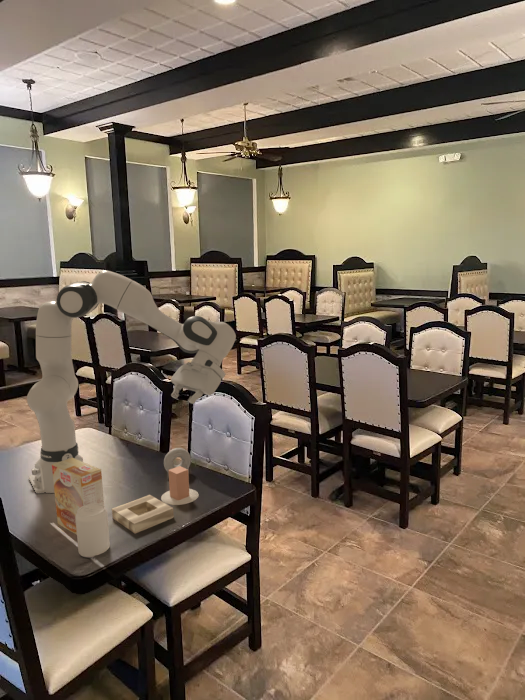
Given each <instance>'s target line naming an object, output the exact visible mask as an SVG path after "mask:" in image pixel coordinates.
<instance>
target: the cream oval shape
mask: <svg viewBox="0 0 525 700" xmlns="http://www.w3.org/2000/svg"><path fill="white" fill-rule="evenodd" d="M199 497H200V496H199V492H198V491H197V490H195V489H192V488H189V496H188V497H186V498H183V499H181V500H176V499H174V498H172V497H170V490H168V491H166V492H164V493H163V494H162V495H161V497H160V499H161V500H160V501H162V502H164V503H165V504H167V505H169V506H180V505H182V506H183V505H186V504H189V503H193V502H194V501H196V500H197V499H198V498H199Z"/></svg>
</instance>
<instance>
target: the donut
mask: <svg viewBox="0 0 525 700" xmlns="http://www.w3.org/2000/svg"><path fill="white" fill-rule="evenodd" d="M177 458H180V459H181V462H180V463H179V464H178V465H176V464H174V461H175V459H177ZM191 461H192V458H191V454H190V453H189V451H188V450H187V449H185V448H182V447H175V448H172V449H171V450H169V451H168V452H167V453H166V455H164V459H163V466H164V467H163V468H164V469H165V471H166V472H167V473H169V472H168V470H170V469H173V468H176V467H179V466H181V467H183V468H185V469H188V470H189V467H190V466H191V463H192V462H191Z"/></svg>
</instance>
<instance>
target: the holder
mask: <svg viewBox="0 0 525 700" xmlns="http://www.w3.org/2000/svg"><path fill="white" fill-rule="evenodd" d="M111 515H112V516H111V517H112V519H113V520H115V521H116V522H118V523H119V524H120V525H122V526H123V527H125V528H126V529H127V530H129V531H130V532H132V533H133V534H138V533H140V532H143V531H145V530H147V529H151V528H153V527H155V526H158V525H159V524H162V523H164V522H167V521H168V520H171V519H174V518H175V514H174V507H172V505H170V504H166V503H164V502H163V501H162V500H160V499H158V498H157V497H155V496H153V495H151V494H147V495H145V496H142V497H140V498H137V499H135V500H132V501H129V502H127V503H124V504H121V505H118V506H115V507H113V508H111Z"/></svg>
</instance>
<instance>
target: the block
mask: <svg viewBox="0 0 525 700" xmlns="http://www.w3.org/2000/svg"><path fill="white" fill-rule="evenodd" d="M167 473H168V484H169V485H168V487H169V491H170V497H172V498H174V499H176V500H181V499H183V498H186V497H188V496H189V489H190V483H189V481H190V480H189V479H190V478H189V468H188V469H185V468H183V467H181V466H179V467H176V468H173V469H170V470H168V472H167Z"/></svg>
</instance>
